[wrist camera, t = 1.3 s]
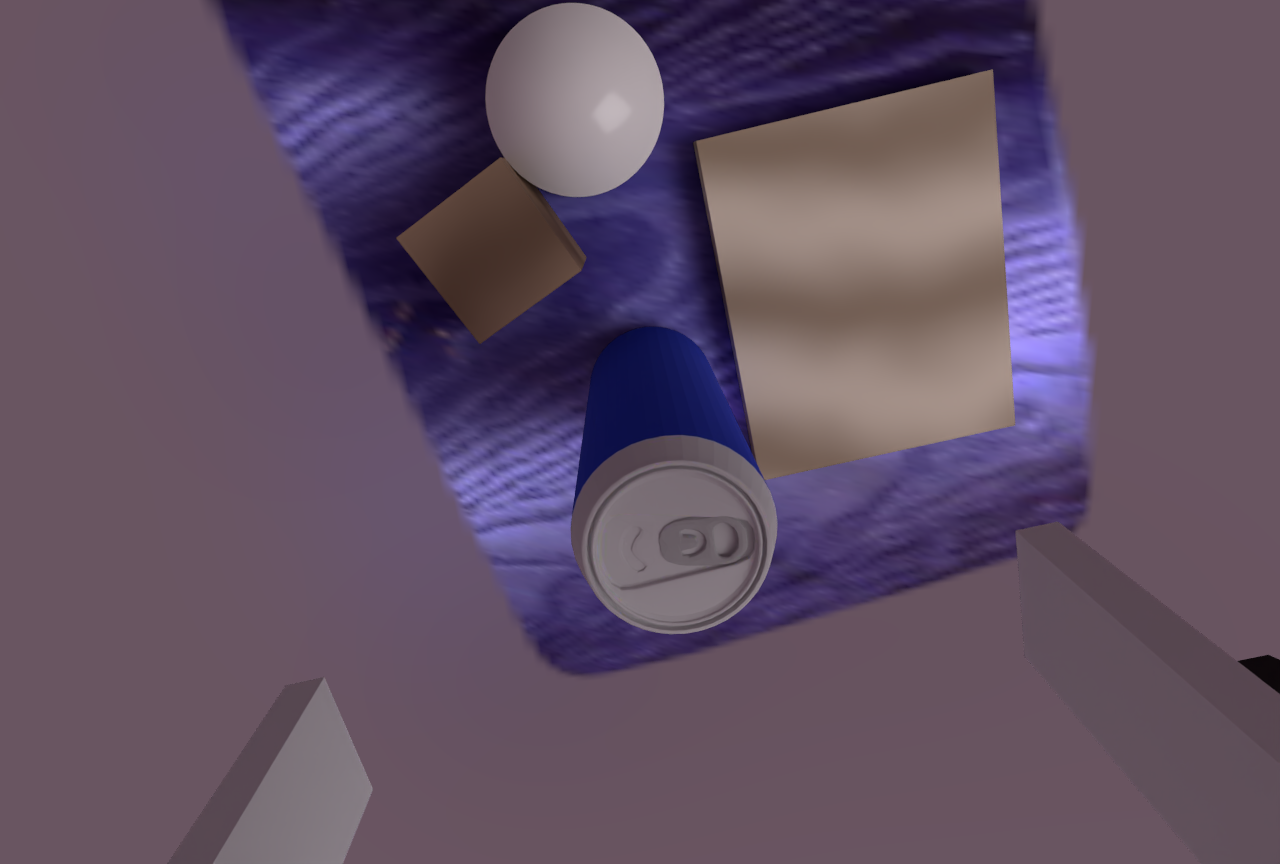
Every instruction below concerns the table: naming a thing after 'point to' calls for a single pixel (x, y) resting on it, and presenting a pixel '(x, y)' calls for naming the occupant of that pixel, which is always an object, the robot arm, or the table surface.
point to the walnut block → (493, 249)
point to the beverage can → (668, 490)
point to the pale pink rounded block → (574, 99)
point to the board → (864, 274)
